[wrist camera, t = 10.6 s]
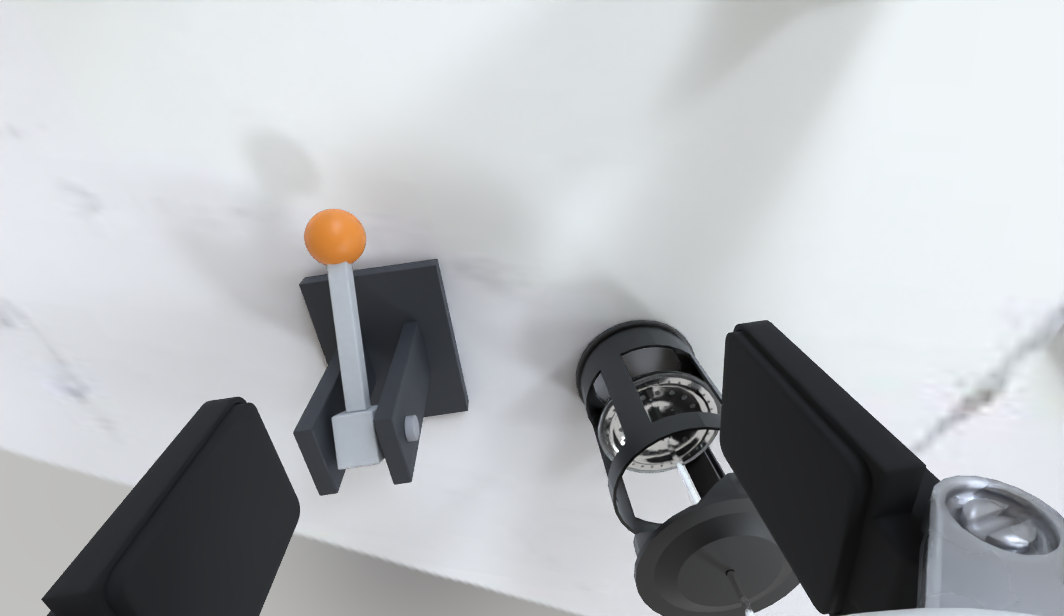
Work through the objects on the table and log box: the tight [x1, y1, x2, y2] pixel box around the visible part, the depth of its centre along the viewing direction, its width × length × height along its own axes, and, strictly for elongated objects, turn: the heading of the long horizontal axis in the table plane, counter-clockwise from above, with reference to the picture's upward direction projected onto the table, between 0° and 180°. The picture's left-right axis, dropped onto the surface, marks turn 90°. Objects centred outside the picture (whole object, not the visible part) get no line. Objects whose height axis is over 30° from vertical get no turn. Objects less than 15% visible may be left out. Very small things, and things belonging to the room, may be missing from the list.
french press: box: [576, 320, 800, 616], centre depth 29 cm, size 12×9×23 cm
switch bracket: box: [293, 259, 469, 496], centre depth 31 cm, size 12×9×12 cm
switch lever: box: [304, 209, 385, 470], centre depth 28 cm, size 14×3×3 cm, turn 7°
